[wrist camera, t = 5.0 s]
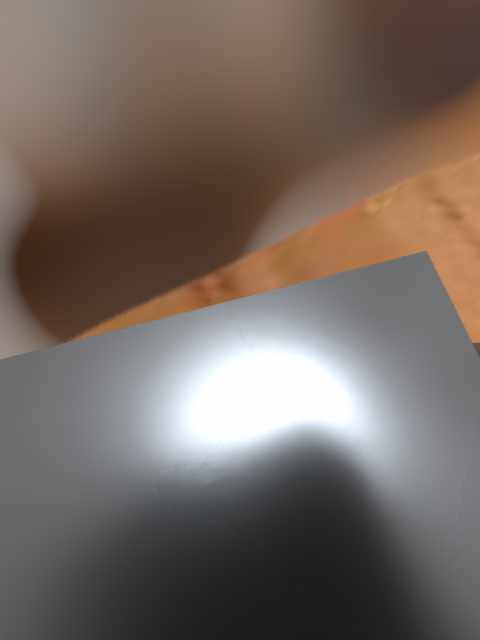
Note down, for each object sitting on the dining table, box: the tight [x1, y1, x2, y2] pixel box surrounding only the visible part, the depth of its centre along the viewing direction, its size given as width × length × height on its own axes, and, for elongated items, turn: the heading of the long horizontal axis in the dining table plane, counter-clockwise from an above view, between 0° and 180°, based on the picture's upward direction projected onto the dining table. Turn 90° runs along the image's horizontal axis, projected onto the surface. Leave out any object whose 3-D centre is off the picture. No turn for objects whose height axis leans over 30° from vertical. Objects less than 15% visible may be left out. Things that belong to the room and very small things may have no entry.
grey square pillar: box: [0, 251, 480, 640], centre depth 9 cm, size 4×4×13 cm
